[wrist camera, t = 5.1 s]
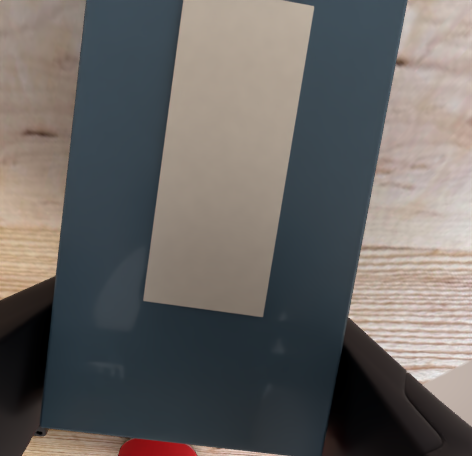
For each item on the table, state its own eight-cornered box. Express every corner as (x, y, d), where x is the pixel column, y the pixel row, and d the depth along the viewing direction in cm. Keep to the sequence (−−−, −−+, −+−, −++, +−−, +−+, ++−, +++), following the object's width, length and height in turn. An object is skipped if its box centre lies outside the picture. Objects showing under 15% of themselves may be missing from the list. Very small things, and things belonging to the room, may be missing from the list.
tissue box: (279, 349, 11) (324, 465, 6) (120, 328, 11) (34, 433, 6) (336, 20, 11) (439, -148, 6) (164, -13, 10) (104, -223, 5)
